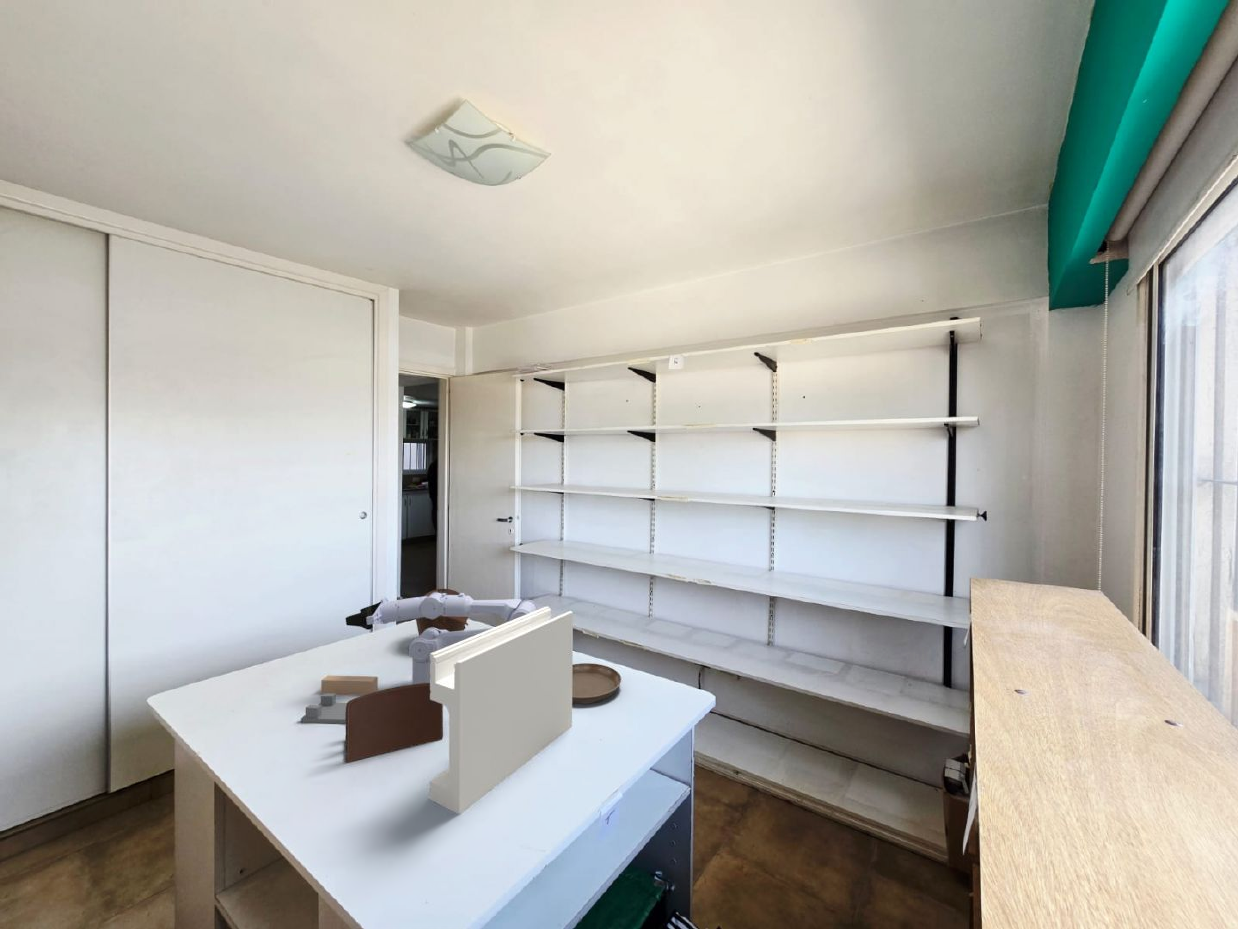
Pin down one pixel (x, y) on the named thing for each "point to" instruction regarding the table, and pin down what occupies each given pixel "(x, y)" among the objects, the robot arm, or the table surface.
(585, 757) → the table surface
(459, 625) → the case
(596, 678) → the plant saucer
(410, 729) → the letter holder
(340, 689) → the light brown rectangular bar
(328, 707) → the plate with corner studs
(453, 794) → the white panel with ledge
